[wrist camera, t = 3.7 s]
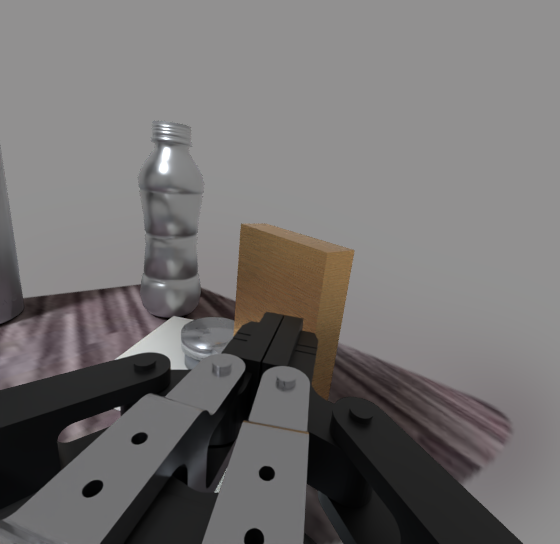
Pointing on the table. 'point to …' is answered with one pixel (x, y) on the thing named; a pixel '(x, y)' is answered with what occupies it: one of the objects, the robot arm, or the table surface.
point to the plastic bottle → (170, 222)
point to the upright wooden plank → (282, 294)
